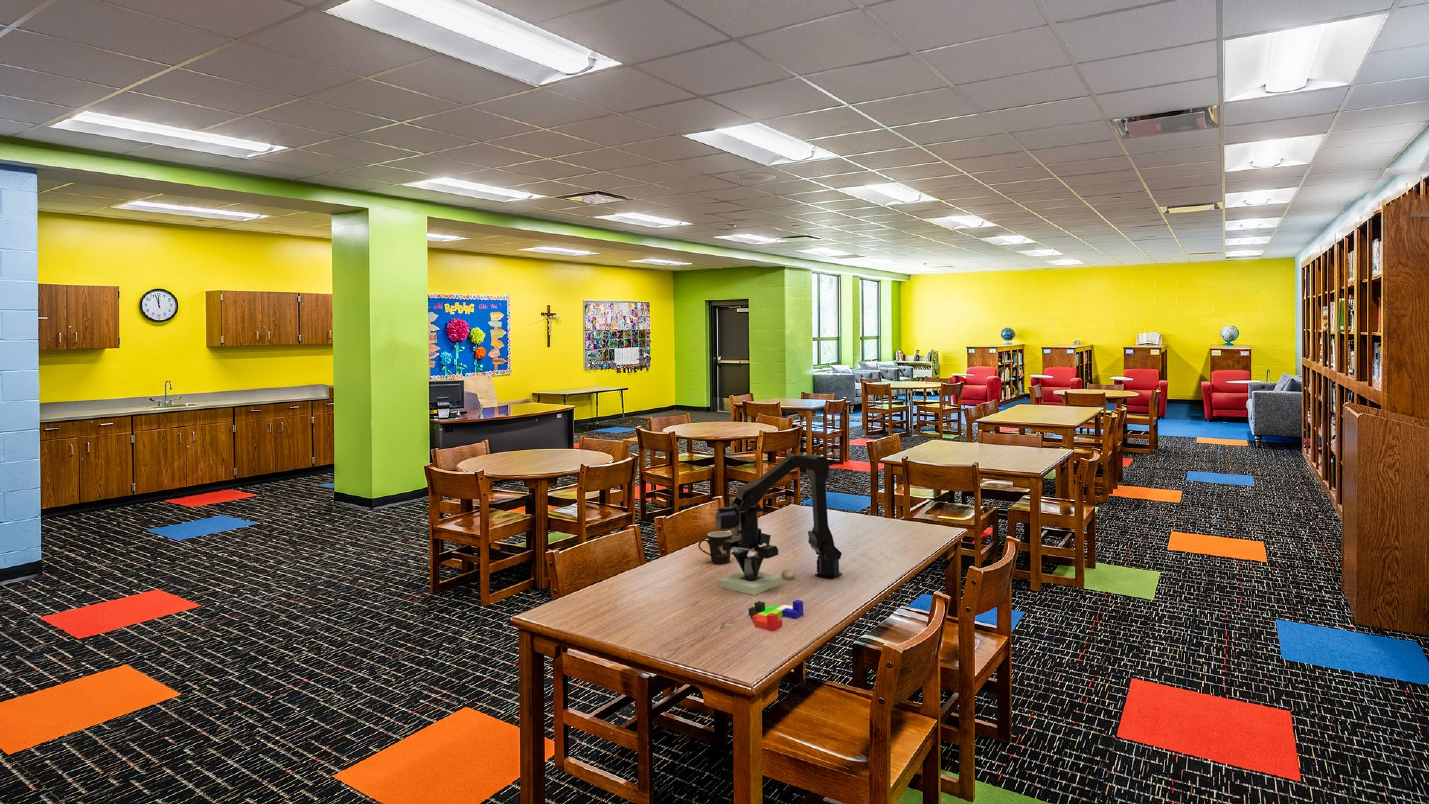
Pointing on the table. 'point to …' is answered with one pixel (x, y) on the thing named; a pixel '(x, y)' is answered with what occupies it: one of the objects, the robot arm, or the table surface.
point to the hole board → (750, 583)
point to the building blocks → (774, 614)
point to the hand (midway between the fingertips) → (750, 574)
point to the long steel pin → (748, 570)
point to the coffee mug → (718, 547)
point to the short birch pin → (788, 574)
